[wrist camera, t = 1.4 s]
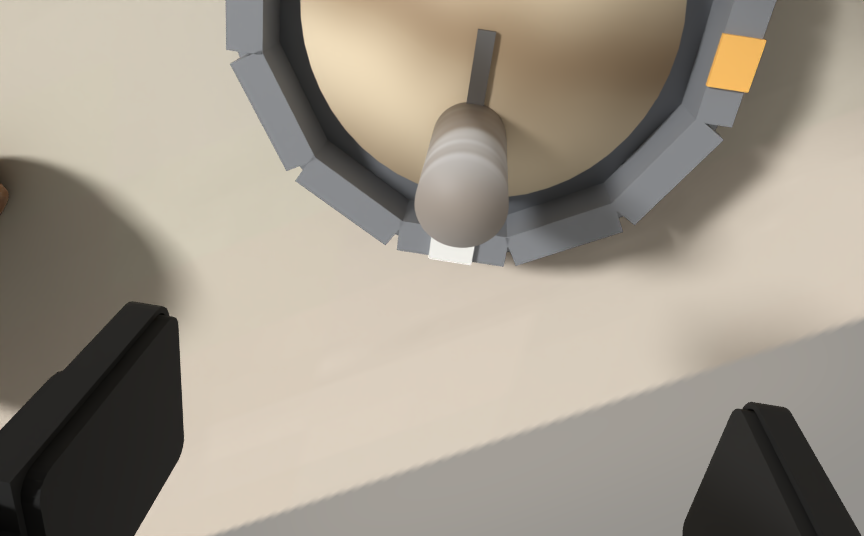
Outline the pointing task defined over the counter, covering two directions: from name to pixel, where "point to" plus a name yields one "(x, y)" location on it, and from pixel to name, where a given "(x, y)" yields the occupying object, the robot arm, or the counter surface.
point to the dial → (489, 92)
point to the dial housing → (528, 214)
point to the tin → (3, 197)
